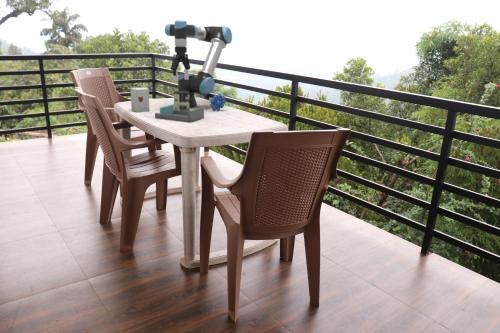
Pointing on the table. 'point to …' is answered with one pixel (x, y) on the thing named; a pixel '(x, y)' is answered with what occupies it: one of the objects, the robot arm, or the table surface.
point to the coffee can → (181, 100)
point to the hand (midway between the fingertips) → (181, 80)
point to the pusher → (167, 109)
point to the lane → (183, 115)
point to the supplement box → (140, 99)
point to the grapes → (217, 102)
